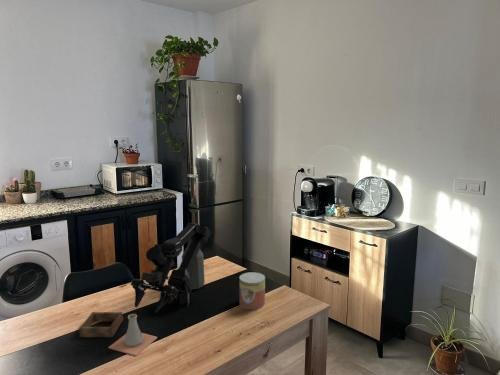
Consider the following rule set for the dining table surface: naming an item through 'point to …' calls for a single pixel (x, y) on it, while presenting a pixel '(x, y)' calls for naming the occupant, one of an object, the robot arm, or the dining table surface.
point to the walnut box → (101, 331)
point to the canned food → (252, 290)
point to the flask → (133, 333)
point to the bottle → (196, 269)
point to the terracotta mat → (134, 349)
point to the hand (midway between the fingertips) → (145, 309)
